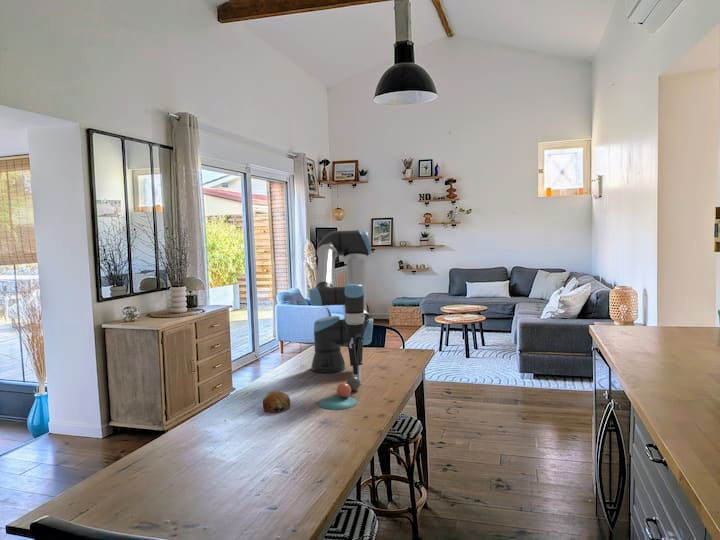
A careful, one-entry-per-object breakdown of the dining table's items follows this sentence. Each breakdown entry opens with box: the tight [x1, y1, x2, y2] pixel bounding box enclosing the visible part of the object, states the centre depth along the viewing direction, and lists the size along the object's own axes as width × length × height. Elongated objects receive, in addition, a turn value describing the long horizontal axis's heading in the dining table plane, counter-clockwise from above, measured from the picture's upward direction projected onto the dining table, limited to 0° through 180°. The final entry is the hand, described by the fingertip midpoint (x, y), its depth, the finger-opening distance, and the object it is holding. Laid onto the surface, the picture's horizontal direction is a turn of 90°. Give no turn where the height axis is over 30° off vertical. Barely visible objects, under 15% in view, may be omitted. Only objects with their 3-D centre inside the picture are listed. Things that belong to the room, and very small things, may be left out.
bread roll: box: [262, 390, 291, 414], centre depth 188 cm, size 10×10×8 cm
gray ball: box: [345, 375, 361, 392], centre depth 206 cm, size 6×6×6 cm
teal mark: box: [318, 395, 358, 411], centre depth 192 cm, size 14×14×1 cm
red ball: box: [335, 382, 352, 398], centre depth 198 cm, size 6×6×6 cm
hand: (357, 381), depth 212 cm, fingers closed
